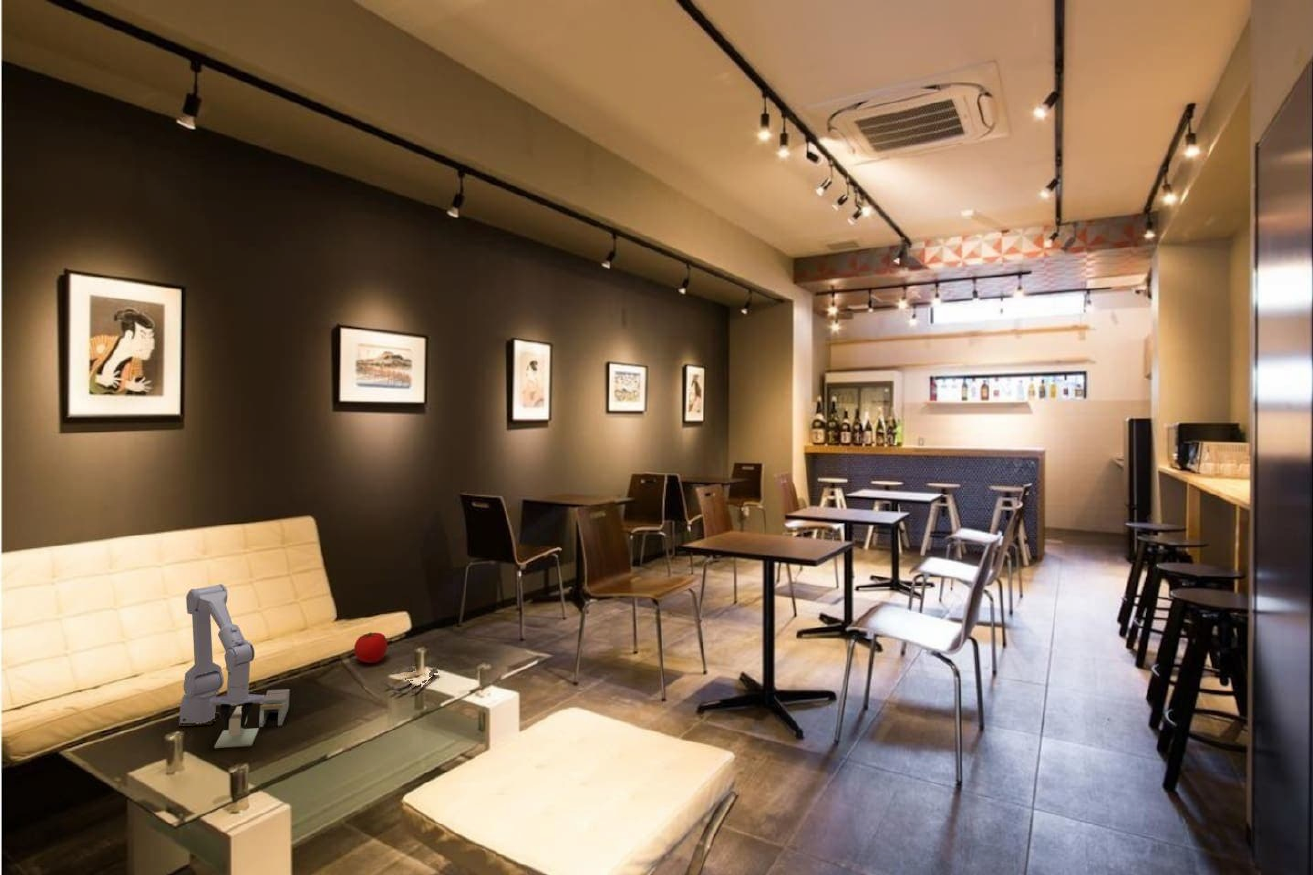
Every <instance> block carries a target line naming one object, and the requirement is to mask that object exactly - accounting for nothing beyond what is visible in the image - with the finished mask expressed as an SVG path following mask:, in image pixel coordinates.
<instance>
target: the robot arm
mask: <svg viewBox="0 0 1313 875" xmlns="http://www.w3.org/2000/svg"><path fill="white" fill-rule="evenodd" d="M185 597H186V598H185V599H186V603H185V604H186V612H187V614H189V615H191V618H192V622H191V623H192V635H193V637H192V638H193V641H192V642H193V659H194V661H193V662H194V664H193V666H192V667H191V668H190V669H188V670H187V671H186V672H184V673H185V674H184V682H183V690H184V695H183V696H182V698H181V702H180V705H179V706H180V708H179V724H180V723H196V724H199V723H200V724H201V723H206V722H208V721H211V720H212V719H214V718H215V713H217V712H216V711H217V710H216V709H217V708H216V707H217V706H220V708H219V713H221V715H222V717H223V719H224V721H225V724H226V729H227V730H229V719H230V717H231V716H232V714H233V713H232V712H233V706H236V707H237V706H238V705H241V706H242V708H241V712H242V720H241V728H243V729H245V728H244V727H245V726H246V724H245V722H246V718H247V719H248V715H249V713H250V710H251V709H252V707H253V705H254V704H259V705H263V703H264V698H265V696H266V694H250V693H249V688H250V687H249V686H250V668H251V662H252V661H254V659H255V648H254V645H253V644H252V643H251V642H249V640H248V639H245V637H244V634H243V633H242V631H241V629H240V627H239V626H238V625H237V624H234V623H233V622H232V619H231V618H232V617H231V616H230V613H229V610H228V607H227V601H228V590H227V587H226V586H225V585H224V584H222V583H220V584H216V585H211V586H205V587H200V588H191V589H190V590H189V591H188V593H187V594H186V596H185ZM211 617H212V618H211ZM211 619H213V621H214V622H215V623H216V625H217V627H218V628H219V631H218V633H217V636H218V639H219V641H220V642H221V645H222V646H223V649H224V651H225V653H224V661H225V665H226V666H225V669H226V671H227V685H226V695H223V696H217V694H218V693H220V690H221V689H222V687H223V685H224V682H225V679H224V674H223V671H222V666H220V665H219V664H217V663H214V661H213V642H212V640H213V639H212V624H211V622H212V620H211ZM183 719H186V720H183ZM246 723H247V722H246Z"/></svg>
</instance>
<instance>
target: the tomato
mask: <svg viewBox="0 0 1313 875" xmlns="http://www.w3.org/2000/svg"><path fill="white" fill-rule="evenodd" d="M360 635H361V636H359V638H357V639H356V641H355V644H354V646H353V650H354V655H355V657H356V658H357V659H358V660H359V661H361V662H363V663H366V664H367V663H368V664H370V663H371V664H373V663H375V664H376V663H378V662H380V661H381V660H382V659H383V658H384V656H385V655H386V652H387V649H388V642H387V639H386V636H385V634H383V633H380V632H371V631H370V632H369V633H364V634H361V633H360Z"/></svg>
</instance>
